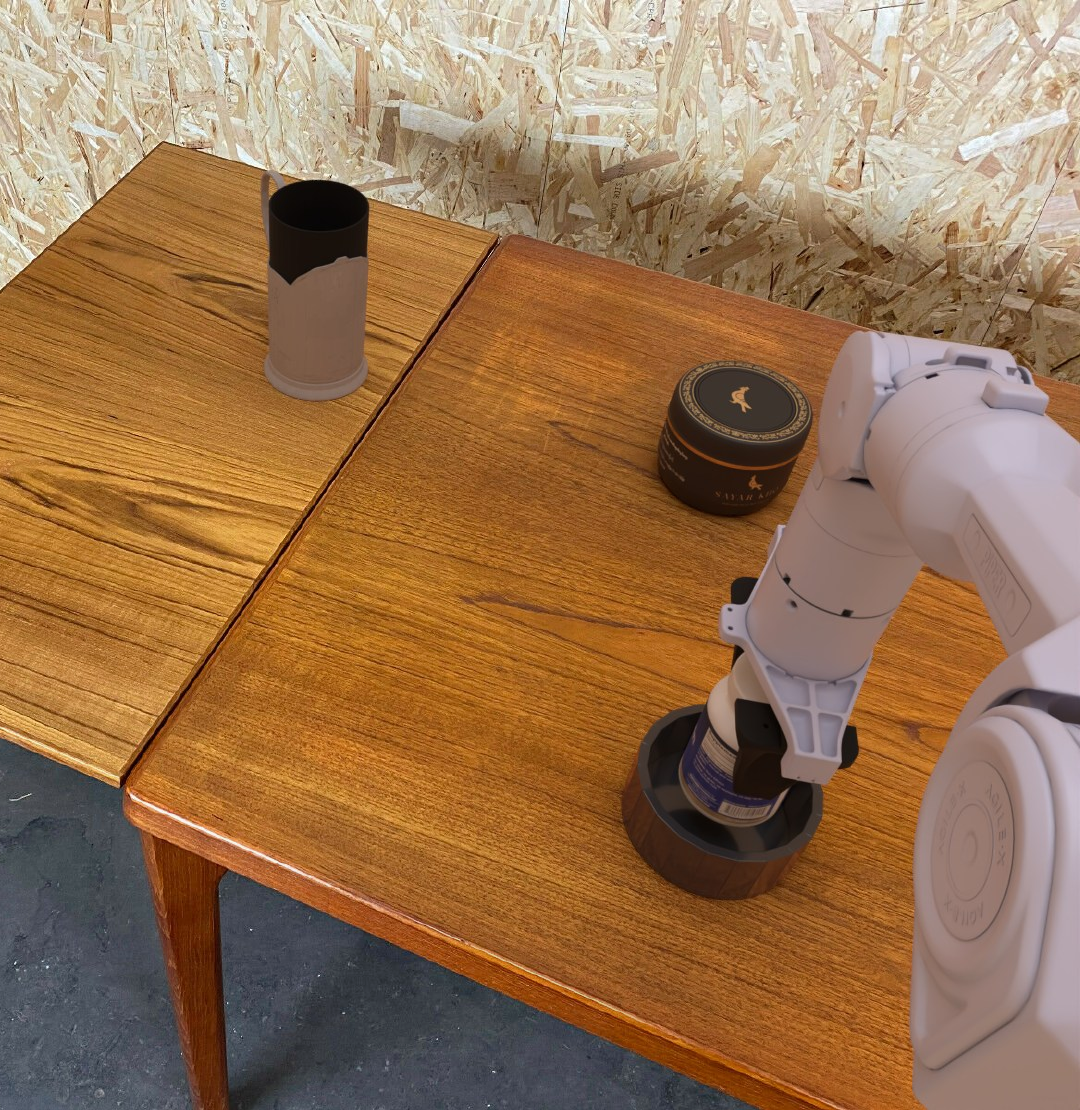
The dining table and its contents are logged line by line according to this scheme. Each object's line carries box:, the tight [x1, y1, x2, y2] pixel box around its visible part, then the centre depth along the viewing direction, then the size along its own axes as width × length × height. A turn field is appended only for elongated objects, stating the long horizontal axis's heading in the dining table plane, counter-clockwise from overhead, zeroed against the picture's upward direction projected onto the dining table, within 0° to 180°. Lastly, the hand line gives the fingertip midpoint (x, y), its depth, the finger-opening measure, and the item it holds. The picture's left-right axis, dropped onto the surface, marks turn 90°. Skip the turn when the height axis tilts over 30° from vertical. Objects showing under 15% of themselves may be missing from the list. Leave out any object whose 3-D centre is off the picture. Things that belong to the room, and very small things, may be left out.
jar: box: [657, 359, 814, 516], centre depth 85 cm, size 10×10×8 cm
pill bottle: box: [679, 652, 790, 827], centre depth 61 cm, size 6×6×10 cm
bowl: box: [621, 703, 824, 901], centre depth 66 cm, size 10×10×4 cm
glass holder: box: [259, 169, 370, 402], centre depth 92 cm, size 9×14×15 cm, turn 28°
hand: (750, 740), depth 61 cm, fingers closed on pill bottle, 6 cm apart
